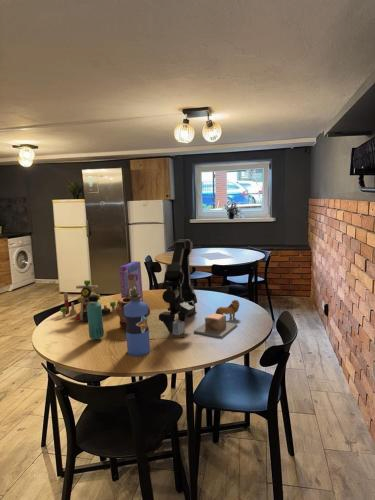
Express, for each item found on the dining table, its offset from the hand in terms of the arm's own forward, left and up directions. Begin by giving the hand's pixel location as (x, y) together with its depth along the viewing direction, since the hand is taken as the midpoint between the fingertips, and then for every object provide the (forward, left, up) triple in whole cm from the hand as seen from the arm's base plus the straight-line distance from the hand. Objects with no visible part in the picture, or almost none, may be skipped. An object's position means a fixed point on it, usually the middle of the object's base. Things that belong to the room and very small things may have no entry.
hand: (177, 330), depth 154 cm
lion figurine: (+13, +26, -2) cm, 29 cm away
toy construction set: (-60, -1, -2) cm, 60 cm away
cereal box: (-50, +27, -2) cm, 57 cm away
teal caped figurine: (-28, -22, -1) cm, 36 cm away
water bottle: (-3, -23, -1) cm, 23 cm away
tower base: (+14, +11, -1) cm, 18 cm away
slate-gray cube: (0, 0, -1) cm, 1 cm away
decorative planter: (-23, -3, -2) cm, 23 cm away
